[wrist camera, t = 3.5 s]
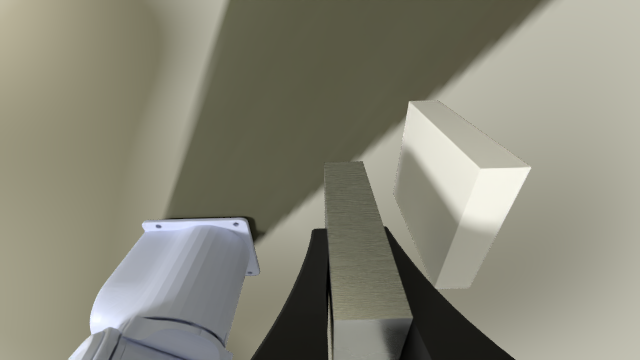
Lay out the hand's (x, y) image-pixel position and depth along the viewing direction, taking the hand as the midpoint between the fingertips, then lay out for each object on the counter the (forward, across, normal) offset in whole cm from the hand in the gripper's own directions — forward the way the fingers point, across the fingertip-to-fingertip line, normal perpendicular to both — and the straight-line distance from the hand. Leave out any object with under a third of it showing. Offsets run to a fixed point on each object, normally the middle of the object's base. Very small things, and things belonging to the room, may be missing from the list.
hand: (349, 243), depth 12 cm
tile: (+9, -6, 0) cm, 11 cm away
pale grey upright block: (+3, 0, 0) cm, 3 cm away
